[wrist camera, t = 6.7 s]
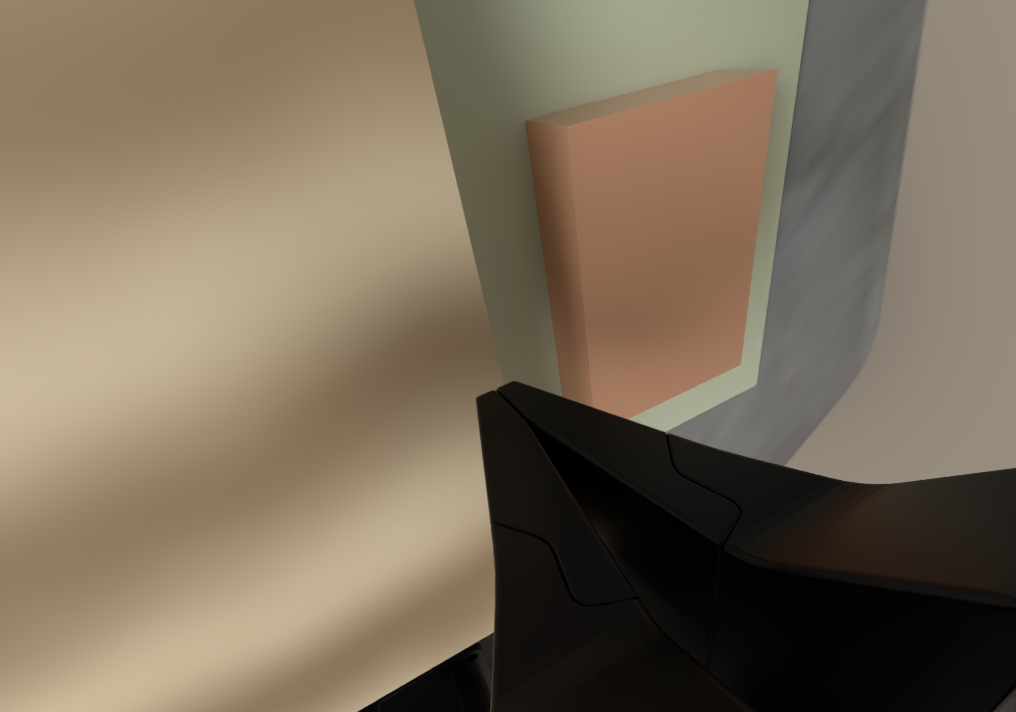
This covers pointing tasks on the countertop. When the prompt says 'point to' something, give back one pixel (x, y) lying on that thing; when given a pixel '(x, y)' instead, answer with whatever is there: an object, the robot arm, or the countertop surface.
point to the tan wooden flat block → (233, 360)
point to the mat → (575, 82)
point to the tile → (651, 234)
